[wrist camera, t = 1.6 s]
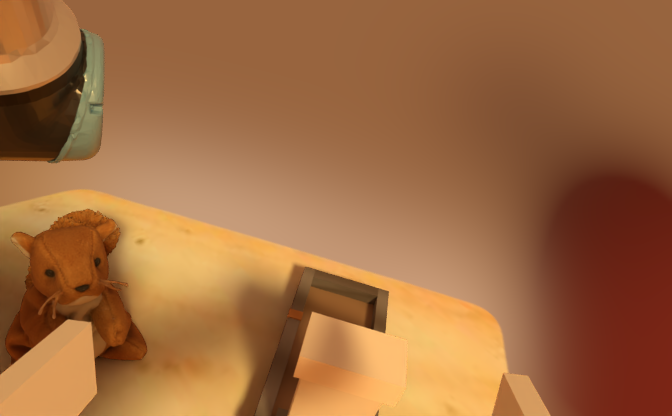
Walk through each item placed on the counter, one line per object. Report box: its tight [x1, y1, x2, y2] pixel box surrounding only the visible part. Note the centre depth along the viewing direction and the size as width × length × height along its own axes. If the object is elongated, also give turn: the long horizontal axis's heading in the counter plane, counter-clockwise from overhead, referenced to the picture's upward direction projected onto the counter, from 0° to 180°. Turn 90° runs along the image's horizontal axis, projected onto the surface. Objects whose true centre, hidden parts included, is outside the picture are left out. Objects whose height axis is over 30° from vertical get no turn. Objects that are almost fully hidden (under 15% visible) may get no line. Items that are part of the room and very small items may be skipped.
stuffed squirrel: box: [5, 209, 147, 366], centre depth 34 cm, size 10×14×13 cm
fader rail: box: [254, 267, 389, 416], centre depth 37 cm, size 26×10×3 cm, turn 170°
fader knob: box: [276, 312, 407, 416], centre depth 28 cm, size 5×7×14 cm
